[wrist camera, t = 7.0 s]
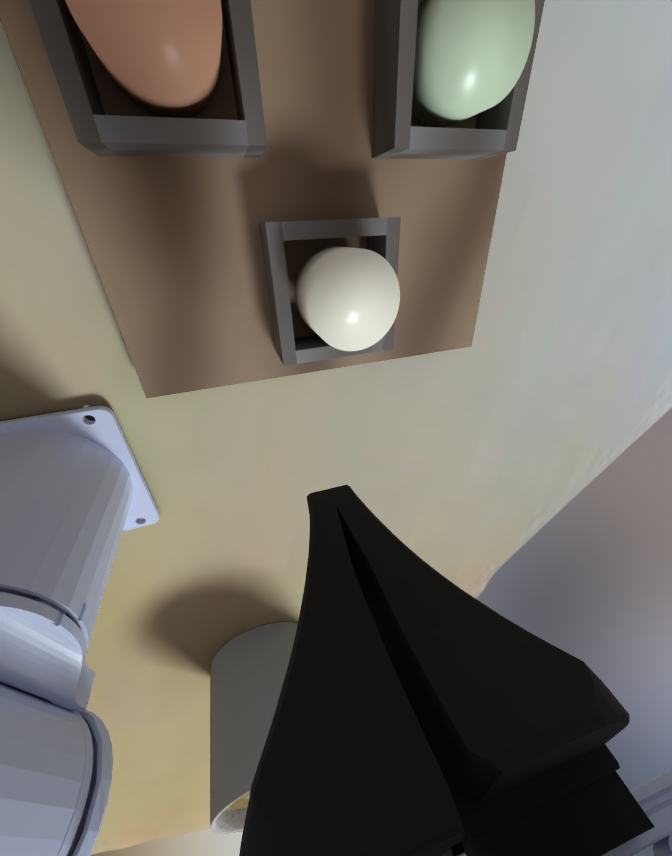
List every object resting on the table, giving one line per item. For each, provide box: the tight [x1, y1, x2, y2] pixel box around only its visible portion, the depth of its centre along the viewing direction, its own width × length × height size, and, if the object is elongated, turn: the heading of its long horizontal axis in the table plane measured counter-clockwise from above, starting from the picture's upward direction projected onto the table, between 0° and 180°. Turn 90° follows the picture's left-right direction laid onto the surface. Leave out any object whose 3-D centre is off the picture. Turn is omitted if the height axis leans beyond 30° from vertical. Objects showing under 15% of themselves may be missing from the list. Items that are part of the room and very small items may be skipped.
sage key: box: [412, 0, 535, 128], centre depth 11 cm, size 4×4×2 cm
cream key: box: [295, 246, 400, 351], centre depth 13 cm, size 4×4×2 cm
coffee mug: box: [210, 622, 298, 834], centre depth 29 cm, size 13×10×10 cm
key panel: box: [0, 0, 545, 398], centre depth 13 cm, size 18×16×4 cm
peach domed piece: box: [65, 0, 222, 118], centre depth 9 cm, size 4×4×2 cm
